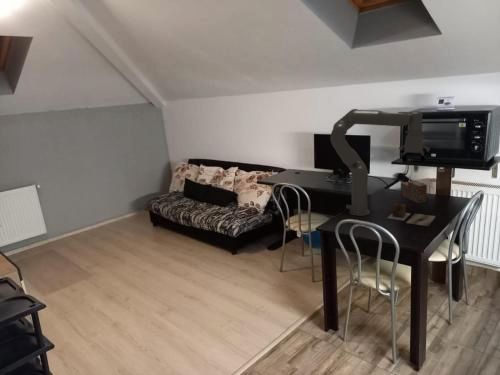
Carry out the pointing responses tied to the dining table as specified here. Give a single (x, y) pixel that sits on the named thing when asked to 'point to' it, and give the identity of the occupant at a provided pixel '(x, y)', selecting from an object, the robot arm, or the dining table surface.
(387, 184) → the dining table surface
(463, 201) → the dining table surface
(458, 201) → the dining table surface
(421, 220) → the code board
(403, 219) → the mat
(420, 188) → the stack of blocks
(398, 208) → the walnut block
